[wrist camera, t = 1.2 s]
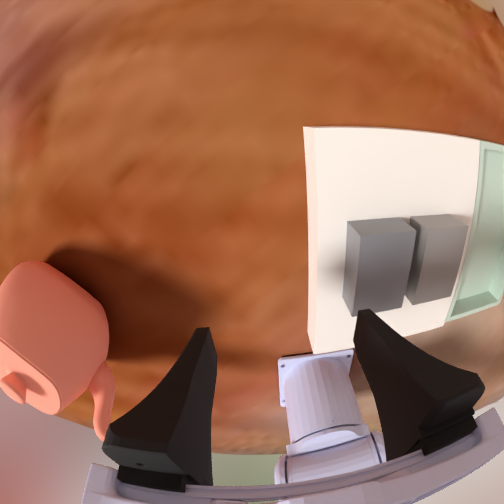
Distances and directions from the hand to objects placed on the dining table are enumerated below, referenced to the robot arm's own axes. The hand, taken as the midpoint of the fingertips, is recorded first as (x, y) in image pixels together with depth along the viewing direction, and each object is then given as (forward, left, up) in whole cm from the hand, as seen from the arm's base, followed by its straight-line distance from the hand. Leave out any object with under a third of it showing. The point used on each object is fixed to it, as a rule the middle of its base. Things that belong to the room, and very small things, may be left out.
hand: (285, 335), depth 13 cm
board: (0, -10, -10) cm, 14 cm away
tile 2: (0, -7, -7) cm, 10 cm away
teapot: (-5, +21, -10) cm, 24 cm away
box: (0, -23, -10) cm, 24 cm away
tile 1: (0, -12, -7) cm, 14 cm away
